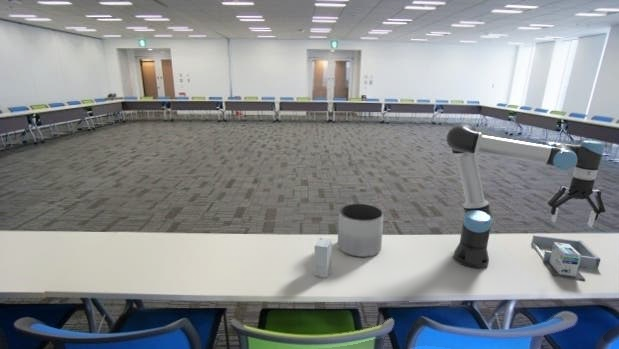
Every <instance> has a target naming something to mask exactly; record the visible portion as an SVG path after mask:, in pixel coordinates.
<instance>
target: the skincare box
mask: <svg viewBox="0 0 619 349" xmlns="http://www.w3.org/2000/svg"><path fill="white" fill-rule="evenodd" d="M331 270H332V239H329V238H323V237H320V238H318V239H317V241H316V243H315V244H314V276H315V277H319V278H325V279H327V278H328V276H329V274H330V272H331Z"/></svg>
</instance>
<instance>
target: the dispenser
mask: <svg viewBox="0 0 619 349" xmlns="http://www.w3.org/2000/svg"><path fill="white" fill-rule="evenodd" d="M554 242H557V243H565V244H570V245H571V246H572V247H573V248H574V249H575V250H576V251H577V252H578V253H580V254H581V259H580V263H579V266H578V267H582V268H589V269H596V270H599V267H600V263H601V258H600V257H599V256H598V255H597V254H596V253H595V252H594V251H593V250H592V249H591V248H589V246H588V245H587V244H586V243H585V242H584V241H583V240H578V239H569V238H561V237H554V236H547V235H537V234H533V235H532V239H531V245H532V247H533V248H534V249H535V251H537V253H538V254H539V257H541V259H542V261H550V257H551V253H552V250H544V254H543V252H542V250H541V249H540V247H538V246H541V245H542V246H541V247H549V248H550V247H551V248H553V244H554Z"/></svg>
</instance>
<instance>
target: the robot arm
mask: <svg viewBox="0 0 619 349" xmlns="http://www.w3.org/2000/svg"><path fill="white" fill-rule="evenodd" d="M445 140H446V143H447V145H448V147H449V148H451V153H452V154H453V156H456V160H457V165H458V170H459V176H460V180H461V184H462V186H461V187H462V190H463V191H462V192H463V196H464V201H465V202H464V203H463V205H462V208H463V212H464V216H463V218H462V224H461V226H462V227H461V233H460V238H459V239H460V240H459V243H458V245H457V246H456V248H455V250H454V252H453V259H454V261H456V262H457V263H458V264H460V265H462V266H464V267H468V268H471V269H483V268H487V267H488V266H489V264H490V258H489V253H488V244H489V238H490V234H491V228H492V225H493V212H492V210H491V207H490V203H489V201H488V200H486V199H485V195H484V189H483V185H482V184H483V183H482V179H481V174H480V169H479V163H478V158H477V154H478V153H481V154H488V155H493V156H497V157H504V158H508V159H516V160H521V161H526V162H531V163H537V164H541V165H547V166H552V167H555V168H557V169H559V170H563V171H565V170H571V169H573V168H574V170H573V172H572V173H573V174H572V178H571V181H570V185H569V187H566V186H564V185H561V186H560V188H559V190H558V191H557V192H556V193H555V194H554V195H553V196H552V198H550V200H549V201H548V202H547V205H548V206H549V207H551V208H550V209H551V210H550V214H551V215H552V216H551V219H550V221H551V222H552V223H556V222H557V217H558V213H559V210H560V209H559V207H561V205H564V204H565V203H567V202H568V201H569V200H573V199H576V200H586V201H587V203H588V205H589V206H590V207H591V209H592V210H591V211H590V214H589V218H588V221H587V226H588V227H590V228H593V226H594V222H595V221H597V220H598V217H599V215H601V213H605V212H606V208H605V206H604V202H603V200H602V199H603V198H602V197H601V196H602V191H601V190H600V189H597V188H596V189H593V188H594V186H595V183H596V182H595V181H596V180H595V179H596V178H597V174H598V172H599V168H600V164H601V161H602V159H603V155H604V149H605V144H604V143H603V142H601V141H595V140H582V141H581V142H580V144H569V143H561V142H560V143H559V142H546V144H538V143H534V142H533V143H532V142H526V141H521V140H514V139H508V138H502V137H496V136H490V135H485V134H484V135H483V133H482V132H480V131H478V130H476V128H475V127H474V126H473V125H472V124H470V123H467V122H461V123H457V124H455V125H454V126H453V127H452V128H451V129H450V130H449V131H448V132H447V134H446V138H445ZM567 191H568V193H567ZM565 193H566V194H565ZM564 194H565V195H564ZM592 194H593V195H594V198H595V201H596V204H595V203H594V202H593V200H592V198H591V195H592ZM563 195H564V196H563Z"/></svg>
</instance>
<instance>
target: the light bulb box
mask: <svg viewBox="0 0 619 349" xmlns="http://www.w3.org/2000/svg"><path fill="white" fill-rule="evenodd" d="M551 251H552V253H551V257H550V261H549V263H550V264H551V265H552V266H553V267H554V269H555V270H556V271H557V272H558V273H559V274H561V275H568V276H576V274H577V270H578V271H579V267H580V266H579V263H580V259H581V256H582V255H581V254H580V253H579V252H578V251H577V250H575V249H574V248H573V247H572V246H571V245H570V244H565V243H557V242H554V244H553V247H552V249H551Z"/></svg>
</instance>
